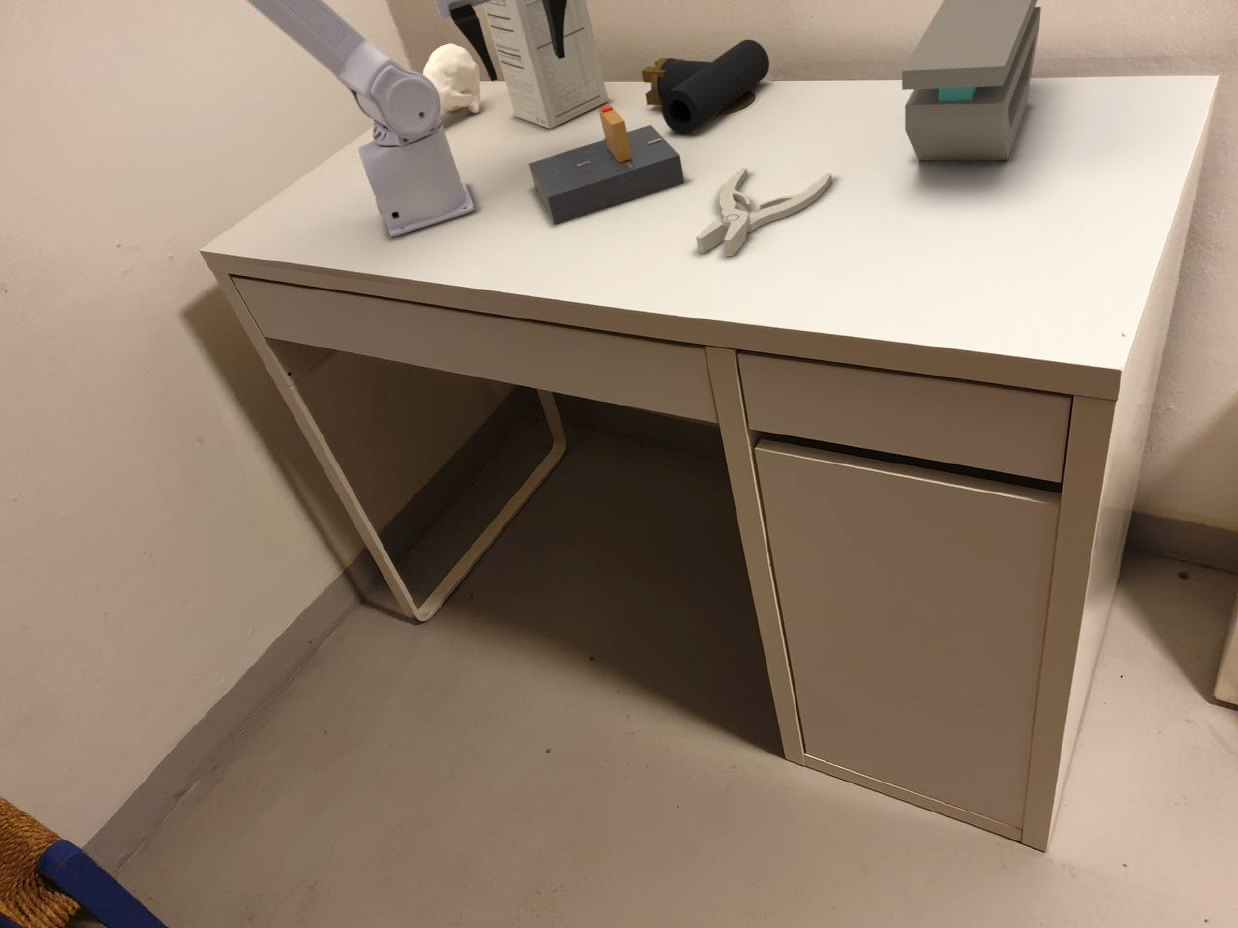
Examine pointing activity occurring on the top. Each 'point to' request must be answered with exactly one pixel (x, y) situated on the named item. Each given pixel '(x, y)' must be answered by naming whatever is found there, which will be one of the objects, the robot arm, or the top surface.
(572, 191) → the dark slotted flat block
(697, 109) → the pipe connector
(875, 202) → the top surface
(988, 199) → the top surface
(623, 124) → the tan upright tile
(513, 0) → the supplement box
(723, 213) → the pliers
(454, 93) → the white lumpy rounded piece
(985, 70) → the grey slotted box
